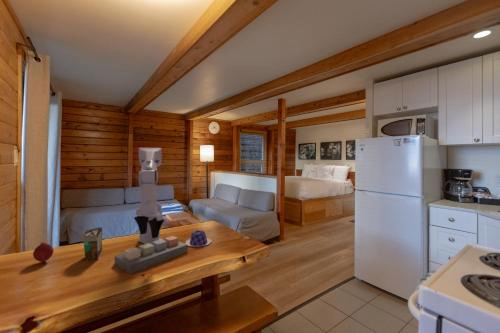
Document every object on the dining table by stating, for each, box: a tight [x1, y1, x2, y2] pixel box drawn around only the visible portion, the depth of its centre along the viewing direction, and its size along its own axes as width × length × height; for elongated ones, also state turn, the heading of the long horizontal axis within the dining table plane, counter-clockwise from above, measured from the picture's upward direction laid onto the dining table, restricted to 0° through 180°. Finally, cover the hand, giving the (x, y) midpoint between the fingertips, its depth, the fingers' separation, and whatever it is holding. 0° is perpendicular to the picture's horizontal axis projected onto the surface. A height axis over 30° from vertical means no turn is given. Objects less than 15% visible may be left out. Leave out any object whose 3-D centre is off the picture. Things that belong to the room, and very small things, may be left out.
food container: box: [80, 226, 103, 261], centre depth 96 cm, size 12×6×10 cm, turn 23°
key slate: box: [152, 238, 167, 251], centre depth 98 cm, size 4×4×3 cm
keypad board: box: [114, 240, 189, 274], centre depth 96 cm, size 12×24×3 cm, turn 142°
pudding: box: [184, 230, 212, 248], centre depth 112 cm, size 12×12×5 cm
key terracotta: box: [163, 235, 179, 247], centre depth 102 cm, size 4×4×3 cm
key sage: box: [138, 243, 154, 255], centre depth 93 cm, size 4×4×3 cm
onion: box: [32, 240, 55, 263], centre depth 91 cm, size 6×6×8 cm
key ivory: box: [123, 247, 141, 261], centre depth 89 cm, size 4×4×3 cm
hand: (149, 235), depth 93 cm, fingers open, 7 cm apart
